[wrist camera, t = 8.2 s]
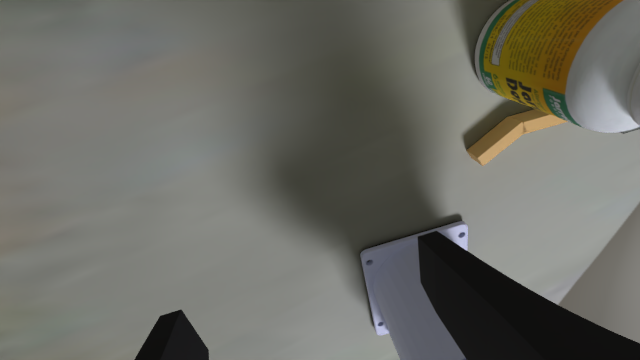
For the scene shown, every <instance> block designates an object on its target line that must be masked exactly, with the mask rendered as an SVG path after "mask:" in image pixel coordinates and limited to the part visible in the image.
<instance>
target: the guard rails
mask: <svg viewBox="0 0 640 360" xmlns="http://www.w3.org/2000/svg"><path fill="white" fill-rule="evenodd" d="M565 122H568V121H566V120H563V119H561V118H558V117H556V116H553V115H550V114H547V113H545V112H542V111H539V110H536V109H534V110H530V111H526V112H523V113H519V114H516V115H512V116H508V117H506V118H505V119H504V120H503V121H501V122H500V123H499V124H498V125H497V126H495V127H494V128H493V129H492V130H491V131H489V132H488V133H487V134H486V135H484V136H483V137H482V138H481V139H480V140H478V141H477V142H476V143H475V144H474V145H472V146H471V147H470V148H469V149H467V150H466V151H467V152H468V154H469V155H470V156H471V158H472V159H474V160H475V161H477V162H478V163H479V164H481V165H482V166H484V165H485V164H486V163H488V162H489V161H490V160H491V159H493V158H494V157H495V156H496V155H498V154H499V153H500V152H501V151H503V150H504V149H505V148H506V147H508V146H509V145H510V144H511V143H513V142H514V141H515V140H516V139H518V138H519V137H520V136H521V135H523V134H526V133H529V132H533V131H536V130H540V129H544V128H547V127H551V126H554V125H558V124H561V123H565Z"/></svg>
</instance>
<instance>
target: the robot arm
mask: <svg viewBox="0 0 640 360" xmlns="http://www.w3.org/2000/svg"><path fill="white" fill-rule="evenodd" d="M460 233H461V234H460ZM467 246H468V226H467V224H466V223H465V222H463V221H459V222H456V223H452V224H449V225H446V226H442V227H439V228H435V229H432V230H429V231H425V232H422V233H419V234H415V235H412V236H409V237H405V238H402V239H398V240H395V241H392V242H388V243H385V244H382V245H378V246H375V247H372V248H368V249H365V250H363V251H362V252H361V254H360V257H361V262H362V267H363V272H364V277H365V282H366V287H367V292H368V297H369V302H370V307H371V312H372V317H373V322H374V327H375V331H376V333H377V335H384V334H387V333H389V334H390V336H391V338H392V341H393V343H394V346H395V348H396V350H397V353H398V355H399V357H400V360H640V344H639V343H637V342H635V341H633V340H630V339H628V338H626V337H623V336H621V335H618V334H616V333H614V332H612V331H610V330H607V329H605V328H603V327H601V326H599V325H596V324H595V323H593V322H591V321H588V320H586V319H584V318H582V317H580V316H578V315H576V314H574V313H572V312H570V311H568V310H566V309H564V308H562V307H560V306H558V305H557V304H555V303H553V302H551V301H549V300H547V299H546V298H544V297H542V296H540V295H538V294H537V293H535V292H533V291H531V290H529V289H528V288H526V287H524V286H522V285H521V284H519V283H517V282H516V281H514V280H512V279H511V278H509V277H507V276H506V275H504V274H502V273H501V272H499V271H498V270H496V269H494V268H493V267H491V266H489V265H488V264H486V263H485V262H483V261H482V260H480V259H479V258H477V257H476V256H474V255H472V254H471V253H469V252H468V251H467ZM368 260H370V261H368ZM367 261H368V262H367ZM135 360H209V352H208V349H207V347H206V346H205V344H204V343H203V341H202V340H201V338H200V337H199V335H198V334H197V332H196V331H195V329H194V328H193V326H192V325H191V323H190V322H189V320H188V319H187V317H186V316H185V314H184V313H183V311H182V310H178V311H175V312H172V313H169V314H165V315H162V316H160V317H159V319H158V321H157V322H156V324H155V326H154V327H153V329H152V331H151V332H150V334H149V336H148V337H147V339H146V341H145V343H144V344H143V346H142V348H141V349H140V351H139V353H138V355H137V356H136V358H135Z"/></svg>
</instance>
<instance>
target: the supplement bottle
mask: <svg viewBox="0 0 640 360" xmlns="http://www.w3.org/2000/svg"><path fill="white" fill-rule="evenodd" d="M475 67H476V72H477V75H478V78H479V80H480V82H481V84H482V85H483V86H484V87H485V88H486V89H488V90H489V91H491V92H493V93H495V94H497V95H500V96H502V97H505V98H507V99H510V100H513V101H516V102H518V103H520V104H523V105H526V106H529V107H531V108H534V109H536V110H539V111H542V112H545V113H547V114H550V115H553V116H556V117H558V118H561V119H563V120H566V121H568V122H571V123H573V124H576V125H578V126H580V127H583V128H586V129H590V130H593V131H598V132H604V133H614V132H623V131H628V130H632V129H635V128H638V127H640V0H510V1H508V2H506V3H505V4H504V5H502V6H501V7H500V8H499V9H497V10H496V11H495V13H494V14H493V15H492V16H491V17H490V18H489V20H488V21H487V23H486V24H485V26H484V28H483V29H482V31H481V34H480V36H479V38H478V42H477V45H476V50H475Z"/></svg>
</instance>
